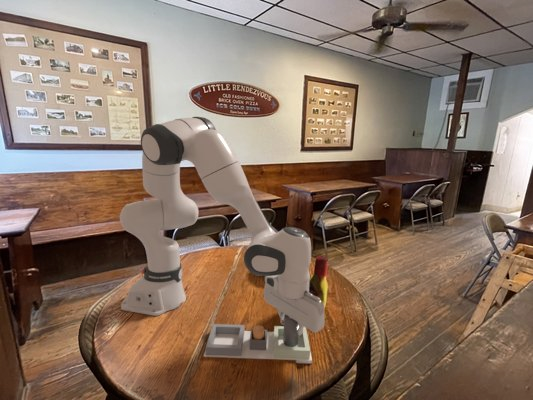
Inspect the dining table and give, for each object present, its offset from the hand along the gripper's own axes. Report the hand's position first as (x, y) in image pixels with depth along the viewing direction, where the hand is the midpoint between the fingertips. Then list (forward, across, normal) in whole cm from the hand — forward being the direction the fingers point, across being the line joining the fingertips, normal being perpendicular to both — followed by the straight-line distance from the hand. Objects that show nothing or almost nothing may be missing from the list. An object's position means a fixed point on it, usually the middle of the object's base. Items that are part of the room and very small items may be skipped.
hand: (291, 328), depth 78 cm
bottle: (+7, +8, -24) cm, 26 cm away
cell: (+4, 0, 0) cm, 4 cm away
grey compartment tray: (+7, +7, +7) cm, 12 cm away
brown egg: (+4, +7, +7) cm, 10 cm away
